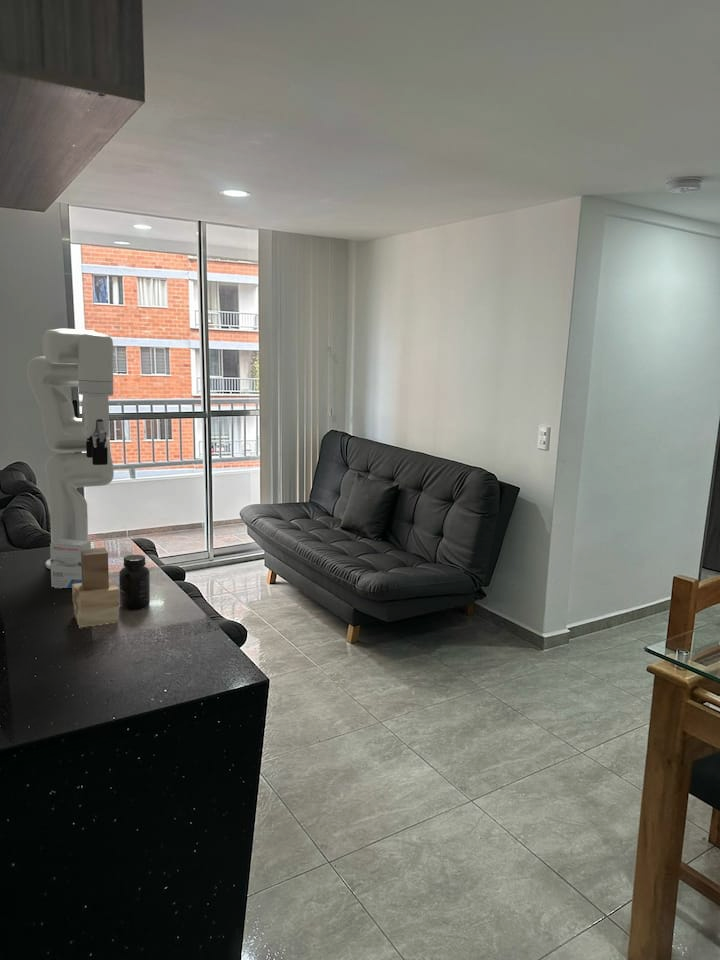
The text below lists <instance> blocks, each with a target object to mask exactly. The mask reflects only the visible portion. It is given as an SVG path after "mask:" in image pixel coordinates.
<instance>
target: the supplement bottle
mask: <svg viewBox="0 0 720 960" xmlns="http://www.w3.org/2000/svg"><path fill="white" fill-rule="evenodd" d="M146 565H147V564H146V557H145V556H144V555H141V554H129V555H126V556H124V557H123V567H122V568H121V569H120V570H119V573H118V574H119V575H118V576H119V581H118V582H119V585H118V586H119V587H118V588H119V604H120V606H119V607H120V608H121V609H122V608H123V610H125V609H127V610H126V611H139V609H140V610H143V608H144V609H146V608H148V607H149V605H150V600H151V598H150V597H151V596H150V595H151V594H150V593H151V592H150V591H151V587H150V586H151V585H150V584H151V581H150V580H151V579H150V575H151V572H150V569H149V568H148V567H147V566H146Z"/></svg>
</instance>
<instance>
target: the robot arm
mask: <svg viewBox="0 0 720 960" xmlns="http://www.w3.org/2000/svg"><path fill="white" fill-rule="evenodd" d="M113 341H114V340H113V338H112V337H111V336H110V335H108V334H105V333H99V332H96V331H94V330H90V329H88V330H87V329H77V328H76V329H75V328H63V327H61V328H55V329H47V330H46V331H45V332H44V334H43V337H42V344H41V345H42V346H41V347H42V353H43V355H40V356H36V357H33V358H31V359H30V360H29V361H28V364H27V370H26V371H27V372H26V373H27V381H28V384H29V387H30V389H31V390H30V391H31V392H32V395H33V396H34V398H35V400H36V402H37V404H38V406H39V408H40V413H41V420H42V424H43V425H42V426H43V430H44V431H43V432H44V437H45V441H46V444H47V447H48V448H49V450H51V451H52V452H57V454H53V455H52V456H49V457H48V458H47V459H46V461H45V464H44V473H45V479H46V483H47V490H48V498H49V500H48V501H49V515H50V516H49V519H50V543H52V542H54V541H57V540H59V539H68V540H81V541H89V527H88V526H89V525H88V523H89V522H88V502H87V500H86V498H85V497H84V496H83V495H82V494H81V493H80V492H79V491H78V490H77V489H78V488H85V487H86V488H88V487H100V486H101V487H103V486H107V485H109V484H111V482H112V481H113V479H114V473H115V472H114V464H113V459H112V453H111V448H110V443H109V438H108V437H109V434H110V404H109V403H110V402H109V401H110V399H109V397H110V396H111V397H112V396H114V342H113ZM57 387H67V388H70V387H71V388H72V387H73V388H75V387H76V388H78V389H77V390H78V391H77V392H78V395H81V396H82V400H81V418H79V417H77V416H76V415H75V408H74V404H73V402H72V400H70V398H68V396H67V395H66V394H64V393H63V392H62V391H61V390H59V389H58V388H57ZM45 567H46V568H47V569H49V570H51V558H49V559H47V560H46V561H45Z"/></svg>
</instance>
